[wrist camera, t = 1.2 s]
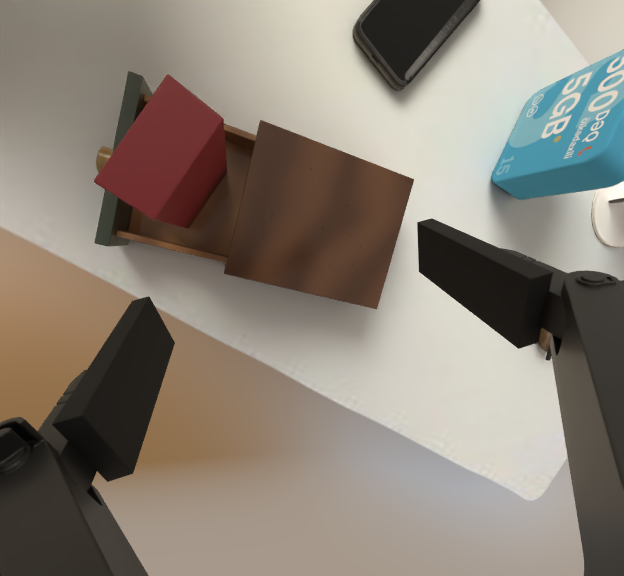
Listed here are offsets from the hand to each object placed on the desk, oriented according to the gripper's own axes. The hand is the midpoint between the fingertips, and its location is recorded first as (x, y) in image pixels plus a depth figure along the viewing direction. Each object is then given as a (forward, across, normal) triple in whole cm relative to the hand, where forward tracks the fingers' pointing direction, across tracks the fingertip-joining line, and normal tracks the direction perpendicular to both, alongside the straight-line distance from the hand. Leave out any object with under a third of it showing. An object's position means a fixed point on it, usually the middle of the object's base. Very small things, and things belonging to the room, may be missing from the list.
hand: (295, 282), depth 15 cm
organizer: (+18, +4, -3) cm, 19 cm away
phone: (+25, +21, +14) cm, 36 cm away
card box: (+17, -6, +3) cm, 19 cm away
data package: (+22, +32, -2) cm, 39 cm away
